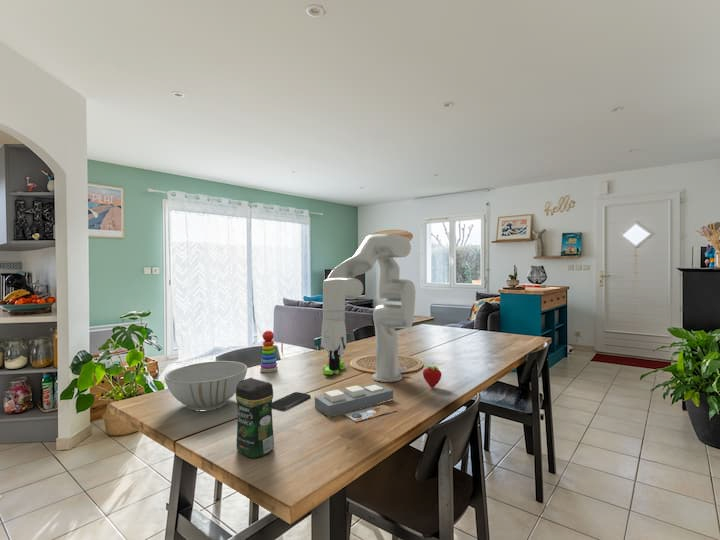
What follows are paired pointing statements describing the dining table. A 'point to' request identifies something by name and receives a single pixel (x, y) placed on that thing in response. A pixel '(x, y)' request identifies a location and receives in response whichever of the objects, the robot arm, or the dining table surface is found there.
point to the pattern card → (361, 413)
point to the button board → (352, 401)
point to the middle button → (354, 391)
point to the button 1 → (334, 395)
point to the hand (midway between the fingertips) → (334, 369)
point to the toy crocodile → (327, 371)
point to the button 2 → (373, 388)
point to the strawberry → (432, 375)
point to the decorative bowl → (205, 383)
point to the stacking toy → (268, 354)
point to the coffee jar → (254, 417)
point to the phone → (290, 401)
